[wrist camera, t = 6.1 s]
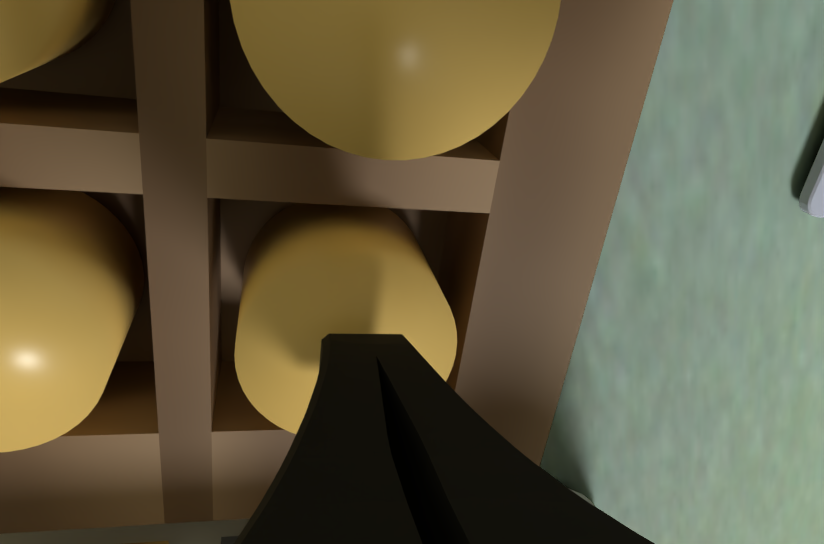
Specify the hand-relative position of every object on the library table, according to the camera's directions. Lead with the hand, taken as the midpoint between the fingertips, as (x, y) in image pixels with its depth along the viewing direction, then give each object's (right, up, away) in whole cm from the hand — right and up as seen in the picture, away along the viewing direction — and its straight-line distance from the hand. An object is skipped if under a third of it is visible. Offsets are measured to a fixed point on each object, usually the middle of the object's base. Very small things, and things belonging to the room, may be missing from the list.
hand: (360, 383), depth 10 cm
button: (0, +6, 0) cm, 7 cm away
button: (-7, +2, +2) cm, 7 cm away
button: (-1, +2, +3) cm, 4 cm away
